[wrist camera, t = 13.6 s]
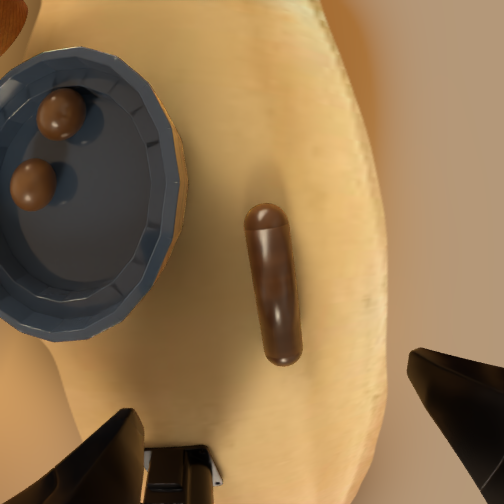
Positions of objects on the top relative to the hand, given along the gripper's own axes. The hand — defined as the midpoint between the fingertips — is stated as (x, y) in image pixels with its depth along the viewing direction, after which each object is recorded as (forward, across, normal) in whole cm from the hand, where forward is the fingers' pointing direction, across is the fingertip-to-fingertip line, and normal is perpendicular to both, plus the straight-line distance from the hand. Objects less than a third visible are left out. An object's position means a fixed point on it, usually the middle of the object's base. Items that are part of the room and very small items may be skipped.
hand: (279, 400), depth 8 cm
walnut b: (+7, +10, -13) cm, 18 cm away
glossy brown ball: (+7, +12, -10) cm, 17 cm away
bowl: (+10, +10, -8) cm, 16 cm away
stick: (+10, -2, 0) cm, 10 cm away
